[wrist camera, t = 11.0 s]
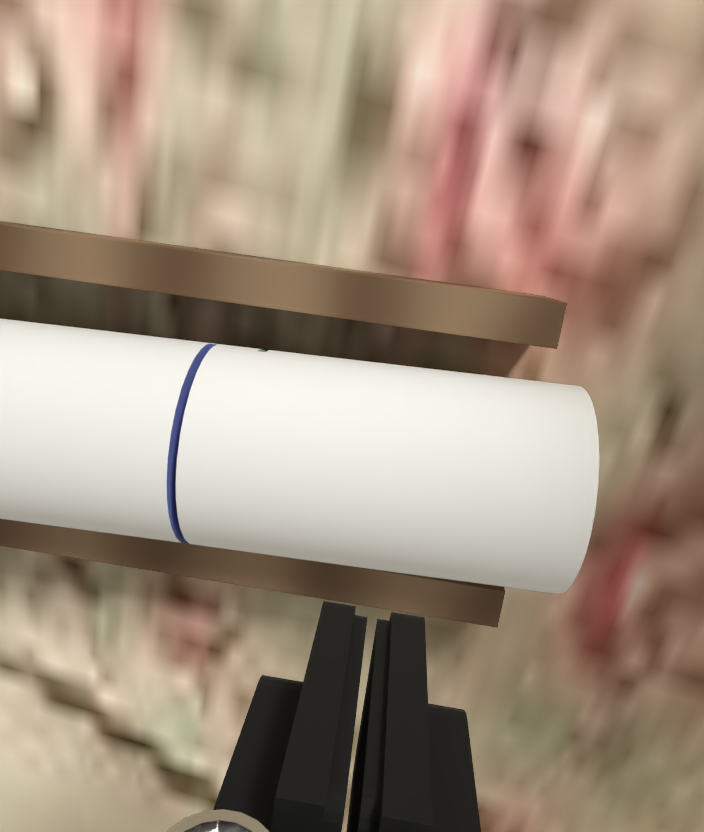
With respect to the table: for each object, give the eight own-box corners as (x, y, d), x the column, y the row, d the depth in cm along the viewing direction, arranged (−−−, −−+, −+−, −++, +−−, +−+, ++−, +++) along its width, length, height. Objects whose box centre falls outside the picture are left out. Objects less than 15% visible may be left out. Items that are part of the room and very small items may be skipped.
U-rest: (544, 296, 24) (578, 307, 19) (486, 581, 27) (503, 651, 23) (-148, 200, 26) (-277, 188, 21) (-130, 481, 29) (-239, 527, 24)
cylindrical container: (559, 641, 21) (-174, 538, 22) (528, 514, 27) (-40, 441, 29) (618, 448, 18) (-243, 343, 19) (567, 355, 24) (-74, 282, 25)
